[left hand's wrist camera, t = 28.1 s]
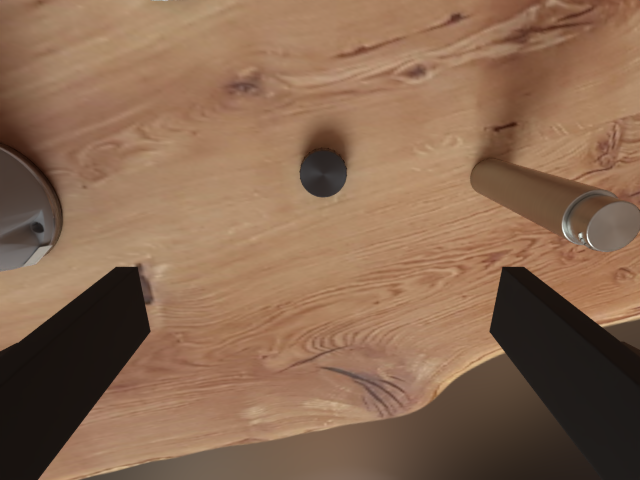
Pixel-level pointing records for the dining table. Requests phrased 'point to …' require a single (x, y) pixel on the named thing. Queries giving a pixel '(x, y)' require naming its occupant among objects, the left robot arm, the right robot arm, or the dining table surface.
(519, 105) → the dining table surface
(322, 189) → the lid
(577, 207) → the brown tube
